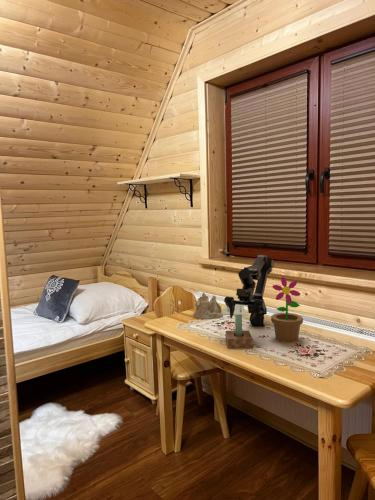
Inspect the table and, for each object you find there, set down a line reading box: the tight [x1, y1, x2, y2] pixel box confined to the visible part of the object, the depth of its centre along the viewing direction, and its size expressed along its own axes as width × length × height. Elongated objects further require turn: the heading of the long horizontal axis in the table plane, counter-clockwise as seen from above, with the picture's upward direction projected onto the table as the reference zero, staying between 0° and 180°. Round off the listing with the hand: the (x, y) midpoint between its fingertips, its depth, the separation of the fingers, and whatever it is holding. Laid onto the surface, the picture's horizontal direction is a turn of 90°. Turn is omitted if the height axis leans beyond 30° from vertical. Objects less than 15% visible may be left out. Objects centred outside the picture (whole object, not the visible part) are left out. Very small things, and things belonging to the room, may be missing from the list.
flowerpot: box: [270, 276, 304, 343], centre depth 171 cm, size 14×14×30 cm
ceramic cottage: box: [193, 291, 224, 320], centre depth 213 cm, size 16×16×15 cm
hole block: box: [225, 329, 254, 349], centre depth 168 cm, size 11×11×4 cm
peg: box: [234, 315, 243, 336], centre depth 167 cm, size 3×3×13 cm
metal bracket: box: [222, 304, 249, 316], centre depth 218 cm, size 14×6×15 cm
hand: (240, 319), depth 169 cm, fingers open, 9 cm apart
